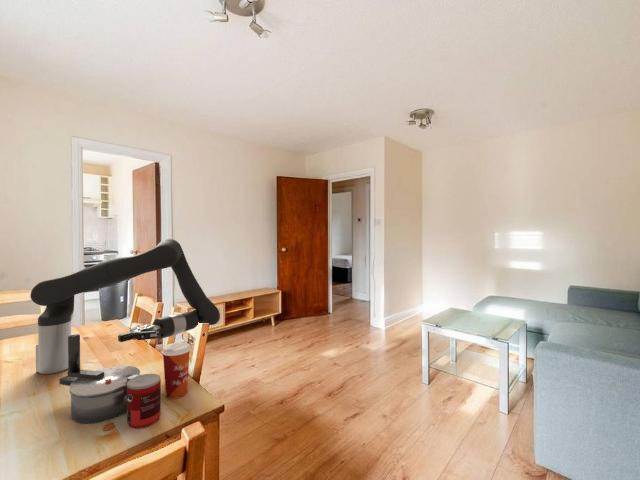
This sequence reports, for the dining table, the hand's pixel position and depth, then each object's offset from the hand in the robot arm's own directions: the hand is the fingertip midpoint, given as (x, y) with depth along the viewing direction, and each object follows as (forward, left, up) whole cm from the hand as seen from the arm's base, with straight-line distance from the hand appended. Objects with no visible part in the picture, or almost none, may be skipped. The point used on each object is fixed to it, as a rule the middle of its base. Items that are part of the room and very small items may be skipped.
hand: (119, 338), depth 100 cm
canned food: (+20, -17, -16) cm, 31 cm away
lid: (+5, -12, -8) cm, 15 cm away
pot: (+3, -11, -16) cm, 20 cm away
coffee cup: (+21, -3, -16) cm, 27 cm away
